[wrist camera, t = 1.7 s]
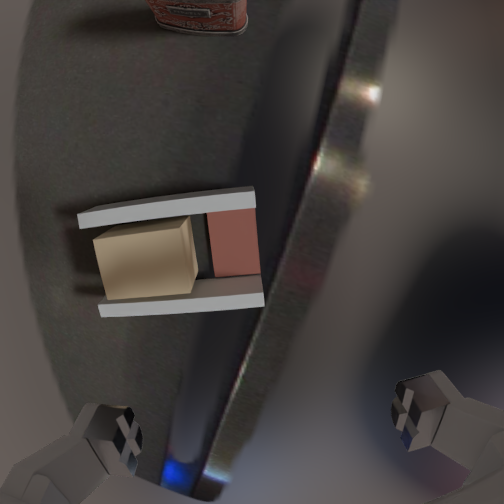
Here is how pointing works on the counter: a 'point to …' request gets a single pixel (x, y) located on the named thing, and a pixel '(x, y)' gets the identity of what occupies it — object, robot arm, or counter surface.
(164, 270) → the maple block
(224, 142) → the counter surface
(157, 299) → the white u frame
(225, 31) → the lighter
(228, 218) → the trap pad
